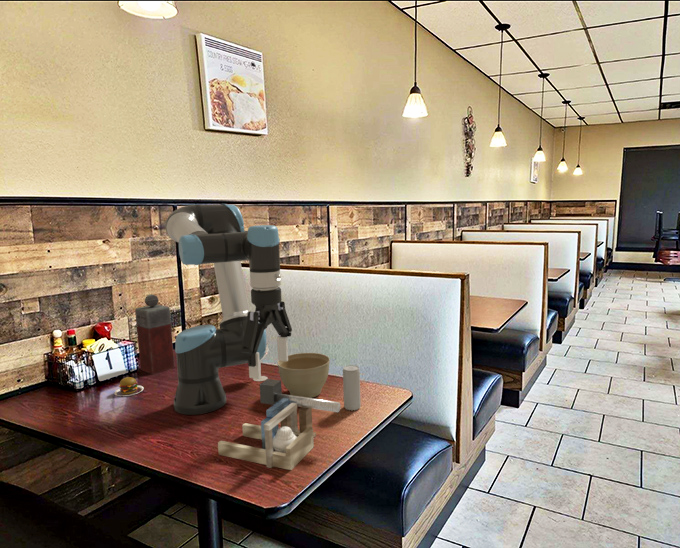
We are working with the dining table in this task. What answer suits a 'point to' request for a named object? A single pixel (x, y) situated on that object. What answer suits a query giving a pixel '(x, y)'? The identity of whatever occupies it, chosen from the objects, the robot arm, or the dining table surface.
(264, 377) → the wineglass
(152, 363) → the red decanter
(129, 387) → the hamburger
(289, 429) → the white lumpy mound
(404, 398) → the dining table surface
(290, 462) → the beige open frame
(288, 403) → the hammer
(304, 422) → the cream cubby shelf
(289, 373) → the planter bowl
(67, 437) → the dining table surface
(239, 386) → the dining table surface
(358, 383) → the beverage can
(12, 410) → the dining table surface
